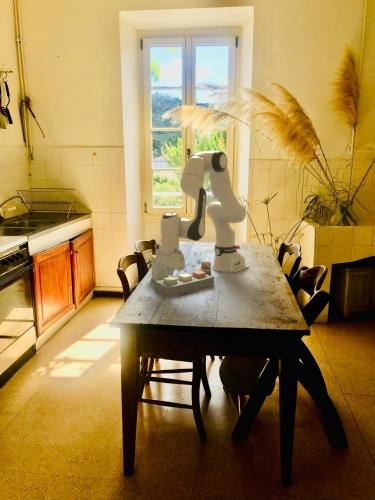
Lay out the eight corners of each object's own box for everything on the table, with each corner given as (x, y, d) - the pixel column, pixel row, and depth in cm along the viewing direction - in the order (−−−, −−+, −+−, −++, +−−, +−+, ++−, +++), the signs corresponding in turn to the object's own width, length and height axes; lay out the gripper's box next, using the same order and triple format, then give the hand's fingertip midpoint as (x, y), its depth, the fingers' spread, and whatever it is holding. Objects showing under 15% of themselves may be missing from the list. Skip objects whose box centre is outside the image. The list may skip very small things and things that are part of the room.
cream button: (186, 280, 200) (186, 273, 199) (191, 283, 196) (191, 275, 195) (178, 282, 197) (178, 275, 196) (184, 285, 193) (184, 277, 192)
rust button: (199, 277, 205) (199, 270, 204) (205, 280, 202) (205, 272, 201) (192, 279, 202) (192, 271, 201) (198, 281, 199) (198, 274, 198)
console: (199, 279, 210) (199, 271, 209) (213, 285, 201) (214, 277, 200) (155, 290, 194) (155, 281, 193) (168, 296, 184) (168, 287, 183)
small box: (168, 280, 208) (168, 257, 205) (157, 282, 205) (157, 258, 202) (162, 276, 215) (161, 253, 212) (151, 278, 212) (150, 255, 209)
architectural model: (210, 276, 217) (210, 263, 215) (197, 275, 218) (197, 263, 217) (211, 275, 220) (211, 262, 218) (199, 274, 222) (199, 261, 220)
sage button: (171, 284, 195) (171, 276, 194) (177, 286, 191) (177, 278, 190) (163, 286, 192) (163, 278, 191) (169, 288, 188) (169, 280, 187)
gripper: (188, 250, 181) (188, 279, 184) (163, 242, 196) (164, 269, 200) (177, 252, 177) (177, 281, 180) (153, 244, 193) (153, 271, 196)
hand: (170, 275), depth 190 cm, fingers closed
